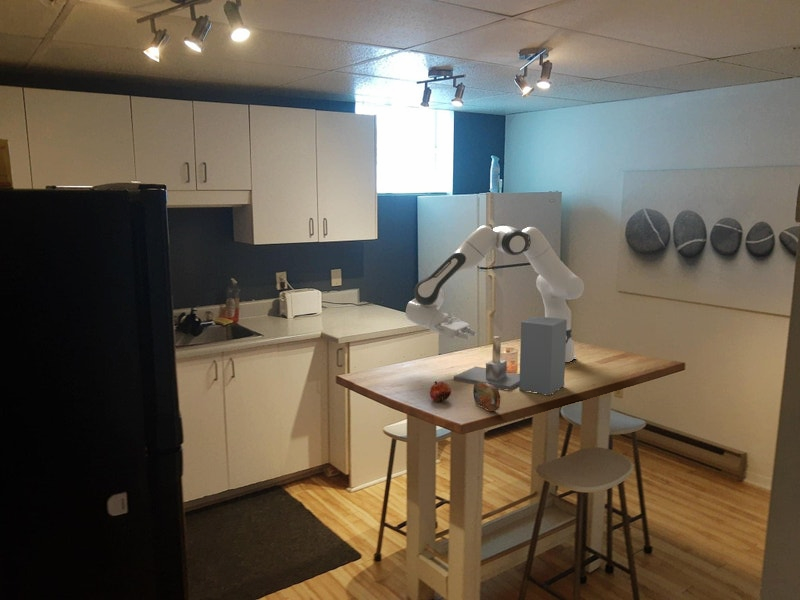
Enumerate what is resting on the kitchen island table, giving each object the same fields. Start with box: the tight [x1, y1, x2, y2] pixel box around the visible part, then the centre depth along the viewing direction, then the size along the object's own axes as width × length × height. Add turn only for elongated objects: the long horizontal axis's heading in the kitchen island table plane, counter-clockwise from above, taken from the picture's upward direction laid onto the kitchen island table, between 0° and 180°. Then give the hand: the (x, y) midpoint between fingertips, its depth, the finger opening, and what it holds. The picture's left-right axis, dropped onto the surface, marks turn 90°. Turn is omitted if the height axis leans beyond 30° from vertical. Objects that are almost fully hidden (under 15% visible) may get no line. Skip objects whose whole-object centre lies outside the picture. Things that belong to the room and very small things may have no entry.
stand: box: [518, 315, 567, 396], centre depth 233 cm, size 12×14×26 cm
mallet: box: [485, 335, 508, 380], centre depth 244 cm, size 16×8×5 cm
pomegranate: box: [429, 380, 452, 405], centre depth 219 cm, size 7×7×10 cm
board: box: [453, 366, 520, 391], centre depth 247 cm, size 24×18×2 cm
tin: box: [472, 381, 501, 412], centre depth 213 cm, size 15×3×8 cm, turn 21°
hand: (472, 335), depth 251 cm, fingers open, 8 cm apart
